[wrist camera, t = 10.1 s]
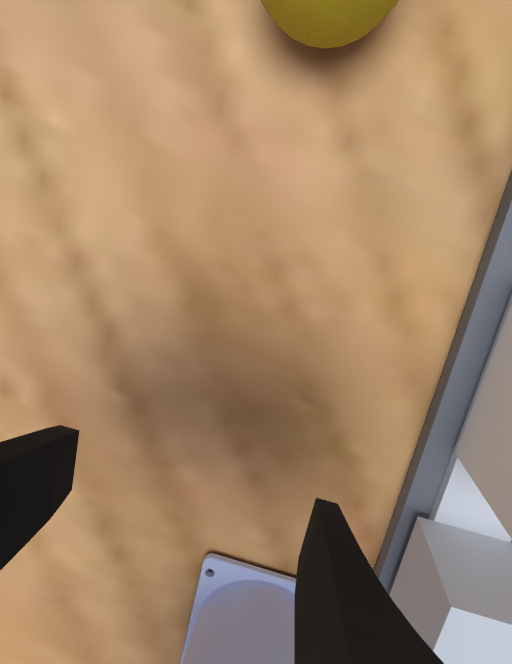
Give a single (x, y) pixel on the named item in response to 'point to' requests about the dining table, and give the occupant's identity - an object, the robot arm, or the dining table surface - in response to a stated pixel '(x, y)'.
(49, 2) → the dining table surface
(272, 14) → the lemon
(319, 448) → the dining table surface
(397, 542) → the board
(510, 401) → the block
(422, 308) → the dining table surface
